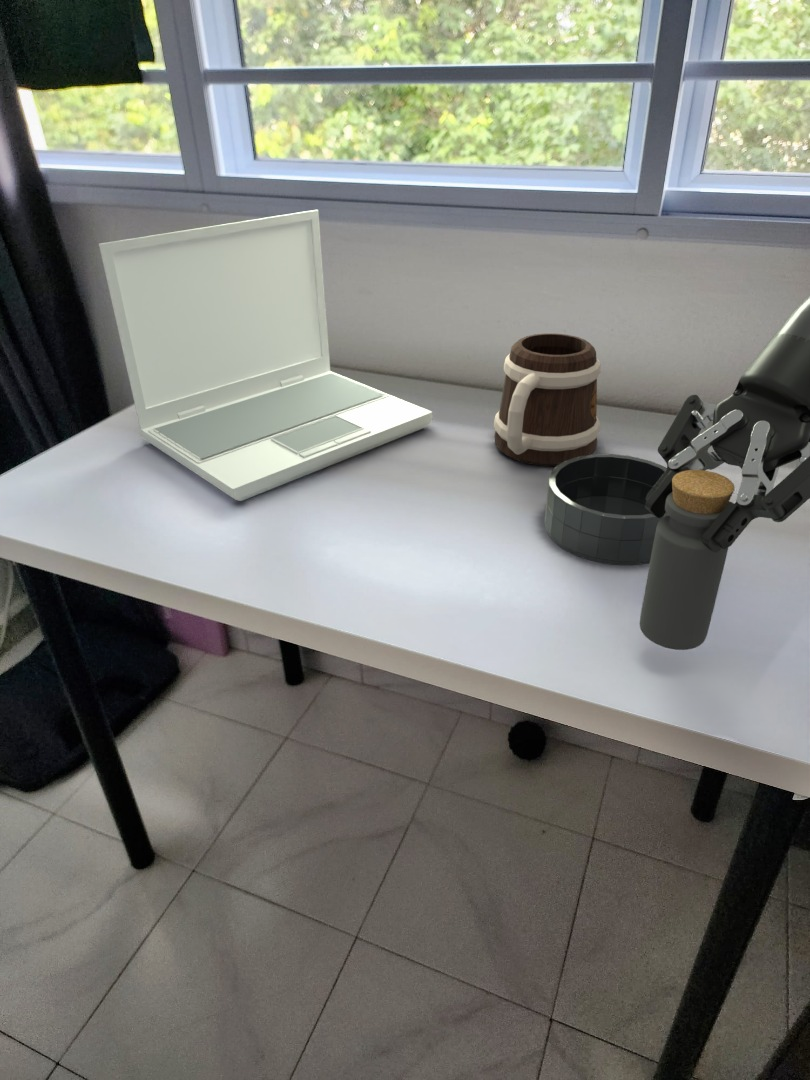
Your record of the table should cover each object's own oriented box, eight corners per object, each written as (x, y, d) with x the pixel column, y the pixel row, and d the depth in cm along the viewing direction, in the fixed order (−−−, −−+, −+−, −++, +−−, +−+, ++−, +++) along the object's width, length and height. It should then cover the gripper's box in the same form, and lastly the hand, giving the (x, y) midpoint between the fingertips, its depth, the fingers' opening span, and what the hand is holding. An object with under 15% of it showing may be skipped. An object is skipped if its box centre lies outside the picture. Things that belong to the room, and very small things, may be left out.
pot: (701, 523, 90) (711, 479, 87) (640, 582, 80) (649, 534, 77) (586, 484, 99) (591, 442, 96) (519, 532, 89) (522, 488, 86)
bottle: (625, 620, 69) (649, 475, 61) (675, 603, 71) (705, 460, 63) (669, 658, 64) (701, 506, 56) (721, 639, 66) (759, 489, 58)
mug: (518, 417, 118) (525, 321, 109) (611, 437, 111) (626, 337, 103) (458, 467, 103) (460, 362, 95) (561, 494, 97) (573, 383, 88)
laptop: (235, 507, 95) (198, 276, 80) (141, 443, 112) (96, 243, 96) (432, 427, 115) (432, 230, 99) (327, 383, 131) (314, 209, 116)
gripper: (726, 310, 62) (598, 473, 64) (893, 359, 51) (733, 553, 53) (756, 361, 67) (636, 511, 69) (914, 415, 56) (767, 591, 58)
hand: (679, 528), depth 61 cm, fingers closed on bottle, 5 cm apart
